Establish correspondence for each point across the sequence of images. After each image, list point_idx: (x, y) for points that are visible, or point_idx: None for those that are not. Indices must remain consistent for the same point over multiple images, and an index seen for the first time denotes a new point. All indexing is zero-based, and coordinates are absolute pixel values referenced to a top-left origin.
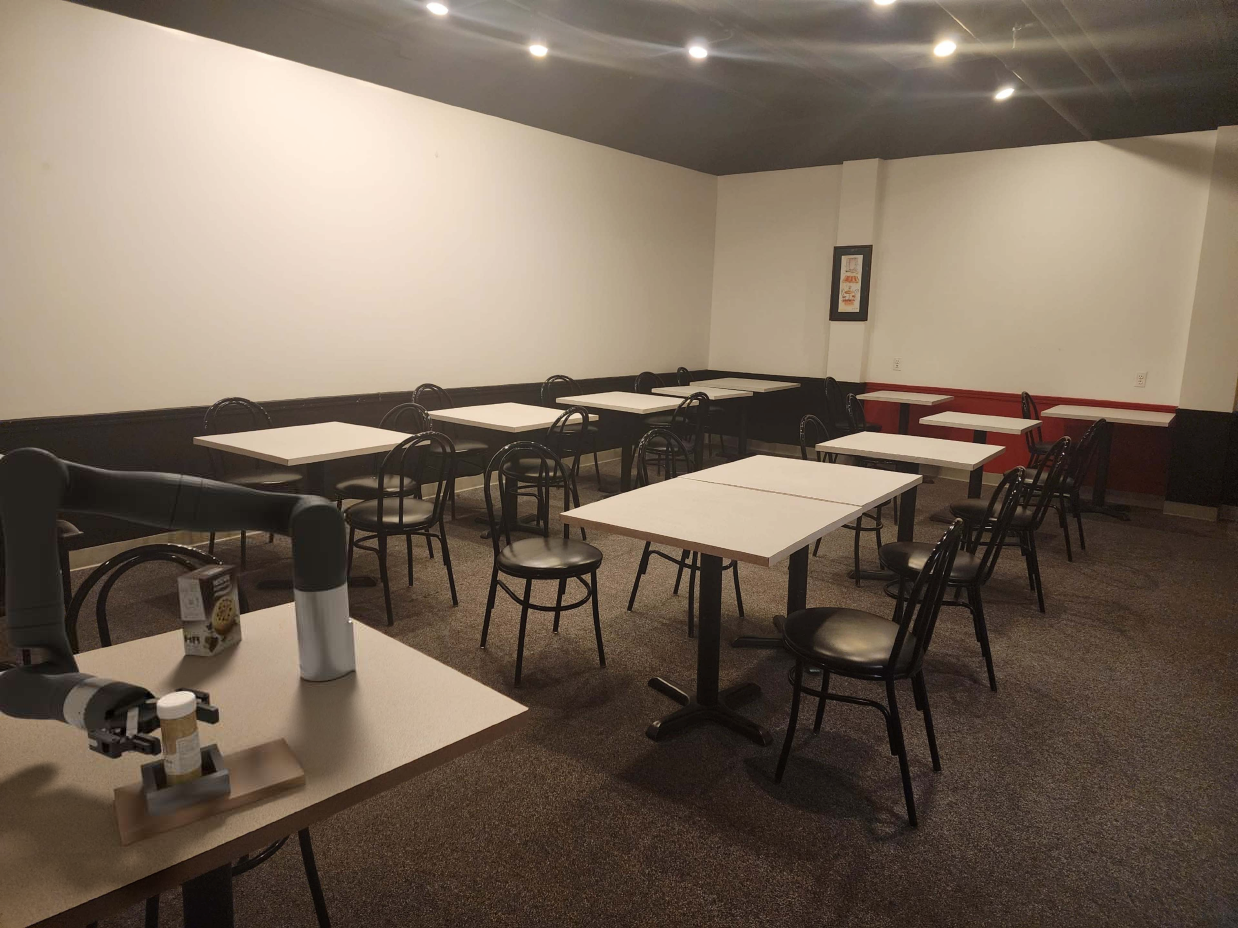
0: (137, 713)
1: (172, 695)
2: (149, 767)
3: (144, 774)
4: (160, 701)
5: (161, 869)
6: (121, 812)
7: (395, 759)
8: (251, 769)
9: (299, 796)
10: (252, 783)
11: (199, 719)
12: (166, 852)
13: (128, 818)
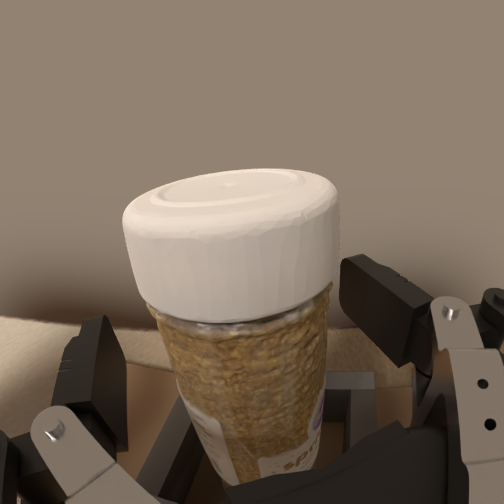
0: (466, 460)
1: (220, 201)
2: None
3: None
4: (312, 186)
5: (355, 328)
6: None
7: (36, 333)
8: (128, 436)
9: (139, 353)
10: (162, 393)
11: (125, 428)
12: (345, 354)
13: None
